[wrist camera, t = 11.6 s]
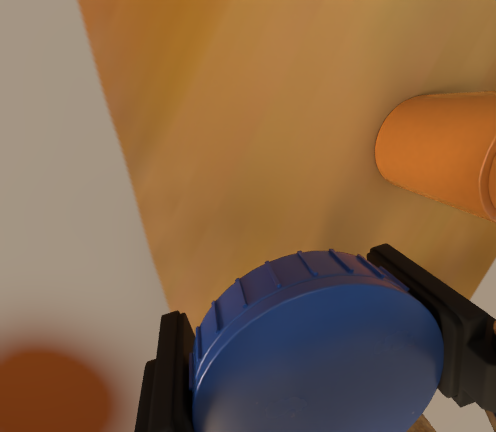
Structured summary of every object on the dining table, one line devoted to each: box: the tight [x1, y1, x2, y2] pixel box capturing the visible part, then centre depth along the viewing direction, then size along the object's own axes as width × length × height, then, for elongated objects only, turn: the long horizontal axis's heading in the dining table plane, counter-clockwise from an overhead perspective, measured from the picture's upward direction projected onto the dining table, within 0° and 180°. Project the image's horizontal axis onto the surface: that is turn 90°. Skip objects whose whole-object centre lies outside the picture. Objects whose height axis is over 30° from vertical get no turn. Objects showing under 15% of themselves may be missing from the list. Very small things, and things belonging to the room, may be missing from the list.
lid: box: [189, 249, 444, 432], centre depth 8 cm, size 7×7×2 cm
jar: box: [375, 91, 496, 223], centre depth 16 cm, size 6×6×9 cm
